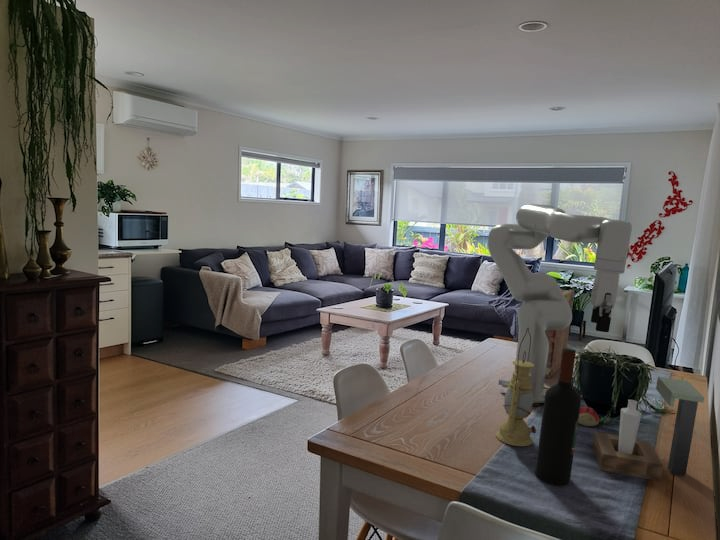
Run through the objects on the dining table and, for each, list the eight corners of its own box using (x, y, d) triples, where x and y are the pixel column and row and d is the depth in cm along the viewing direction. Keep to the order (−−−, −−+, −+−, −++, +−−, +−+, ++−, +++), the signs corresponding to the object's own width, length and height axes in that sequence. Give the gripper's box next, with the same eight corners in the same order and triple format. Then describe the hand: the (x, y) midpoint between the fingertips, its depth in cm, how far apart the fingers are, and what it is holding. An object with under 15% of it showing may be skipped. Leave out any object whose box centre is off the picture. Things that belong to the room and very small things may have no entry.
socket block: (600, 469, 126) (602, 453, 125) (592, 446, 138) (594, 431, 138) (660, 481, 123) (663, 465, 122) (646, 456, 135) (649, 441, 135)
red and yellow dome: (573, 424, 152) (574, 413, 152) (574, 412, 161) (575, 401, 161) (598, 430, 150) (600, 418, 149) (598, 418, 158) (600, 406, 158)
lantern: (528, 453, 132) (542, 336, 127) (489, 441, 137) (502, 328, 132) (539, 436, 142) (553, 327, 138) (503, 426, 147) (515, 320, 143)
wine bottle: (529, 468, 124) (545, 344, 120) (560, 468, 125) (577, 345, 121) (543, 485, 117) (560, 354, 113) (576, 486, 117) (594, 356, 113)
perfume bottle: (637, 465, 128) (646, 406, 126) (618, 462, 129) (626, 403, 127) (631, 456, 132) (640, 399, 130) (612, 453, 133) (621, 396, 131)
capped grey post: (657, 479, 123) (672, 392, 120) (645, 456, 135) (657, 376, 132) (691, 486, 121) (706, 397, 119) (675, 462, 133) (689, 381, 130)
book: (541, 358, 217) (550, 286, 213) (565, 363, 212) (574, 289, 208) (524, 372, 196) (534, 293, 192) (549, 379, 191) (560, 297, 187)
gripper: (590, 260, 152) (581, 317, 155) (599, 268, 135) (588, 332, 138) (618, 263, 150) (608, 321, 153) (631, 272, 133) (619, 337, 136)
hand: (599, 327), depth 145 cm, fingers open, 9 cm apart
